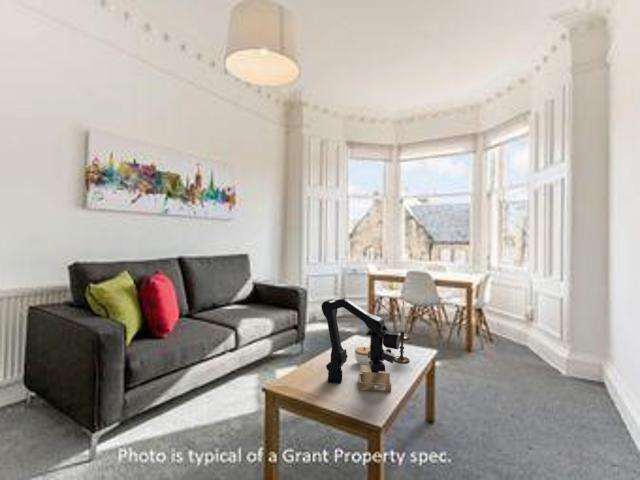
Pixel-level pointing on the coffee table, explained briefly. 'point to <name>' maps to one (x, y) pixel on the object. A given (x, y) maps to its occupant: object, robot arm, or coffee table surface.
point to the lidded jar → (362, 355)
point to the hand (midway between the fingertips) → (375, 378)
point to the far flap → (368, 369)
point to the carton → (373, 385)
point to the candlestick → (402, 337)
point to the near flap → (375, 377)
